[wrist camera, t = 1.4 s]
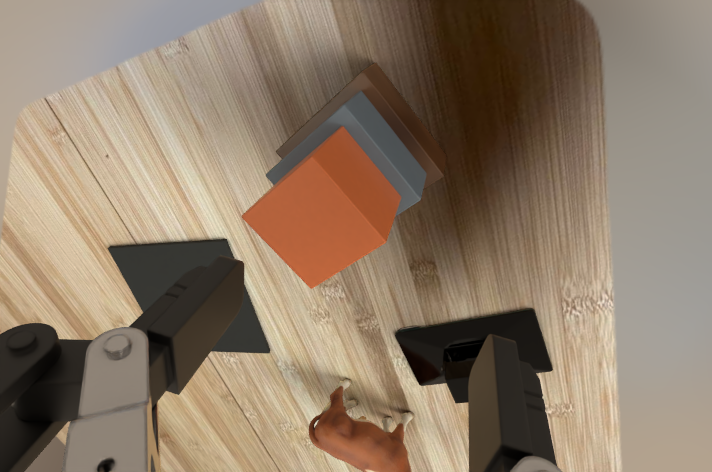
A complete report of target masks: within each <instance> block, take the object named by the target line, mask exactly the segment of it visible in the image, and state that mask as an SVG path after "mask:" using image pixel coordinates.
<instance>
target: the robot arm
mask: <svg viewBox="0 0 712 472" xmlns="http://www.w3.org/2000/svg"><path fill="white" fill-rule="evenodd" d="M243 298H244V263H243V262H242V261H240V260H236V259H233V258H229V257H226V256H222V255H220V256H218V257H217V258H216V259H215V260H214V261H213V262H212V263H211V264H210V265H209V266H208V267H203V266H198V267H196V268H194V269H192V270H190V271H188V272H186V273H184V274H183V275H182V276H181V277H180V278H179V279H178V280H177V281H176V282H175V283H174V285H173V286H171V287H170V288H169V289H168V290H167V291H166V292H165V294H163V295H162V296H161V297H160V298H158V299H157V300H156V301H155V302H154V303H153V304H152V305H151V306H150V307H149V308H148V309H147V310H146V311H145V312H144V313H143V314H142V315H141V316H140V317H139V318H138V319H137V320H136V321H135V322H134V323H133V324H131V325H130V326H129V327H121V328H116V329H112V330H109V331H107V332H104V333H103V334H101V335H99V336H98V337H96V338H95V339H94V340H67V339H59V338H58V335H57V333H56V330H55V329H54V328H53V327H51V326H49V325H47V324H42V323H30V324H24V325H20V326H17V327H14V328H12V329H9V330H7V331H5V332H4V333H2V334H0V472H24V471H25V470H26V469H27V468H28V467H29V466H30V465H31V463H32V462H33V461H34V460H35V459H36V458H37V456H38V455H39V454H40V453H41V452H42V451H43V450H44V448H45V447H46V446H47V445H48V444H49V443H50V442H51V440H52V439H53V438H54V437H55V436H56V435H57V433H58V432H59V431H60V430H61V429H62V428H63V427H64V425H65V424H66V423H67V422H68V421H71V422H70V424H69V428H68V433H67V440H66V447H65V453H64V461H63V467H62V472H161V461H160V436H159V410H158V400H159V399H160V398H161V396H162V395H163V394H164V392H165V391H169V392H172V393H175V394H178V395H179V394H180V393H181V391H182V390H183V388H184V387H185V386H186V384H187V383H188V382H189V380H190V379H191V378H192V376H193V375H194V373H195V372H196V371H197V369H198V368H199V367H200V365H201V364H202V362H203V361H204V360H205V358H206V357H207V356H208V354H209V353H210V352H211V350H212V349H213V347H214V346H215V345H216V343H217V342H218V341H219V339H220V338H221V336H222V335H223V334H224V332H225V331H226V330H227V328H228V327H229V325H230V324H231V323H232V321H233V320H234V319H235V317H236V316H237V314H238V313H239V311H240V308H241V306H242V303H243ZM542 396H543V394H542V389H541V384H540V379H539V378H538V376H537V374H536V373H535V371H534V370H533V368H532V366H531V365H530V363H527V362H523V361H520V360H519V356H518V349H517V344H516V342H515V341H513V340H510V339H506V338H503V337H499V336H496V335H492V334H489V335H488V336H487V338H486V340H485V342H484V344H483V346H482V348H481V350H480V352H479V354H478V357H477V359H476V361H475V363H474V365H473V367H472V370H471V373H470V377H469V385H468V397H469V472H562V471H561V470H560V469H559V468H558V467H557V464H556V460H555V454H554V449H553V444H552V439H551V434H550V429H549V424H548V419H547V414H546V412H545V404H544V399H542Z"/></svg>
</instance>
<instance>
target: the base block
mask: <svg viewBox="0 0 712 472" xmlns="http://www.w3.org/2000/svg"><path fill="white" fill-rule="evenodd" d="M359 91H362V92H363V93H364V94H365V96H366V97H367V98H368V99H369V101H370V102H371V103H372V105H373V106H374V107H375V108H376V110H377V111H378V112H379V113H380V115H381V116H382V117H383V119H384V120H385V121H386V122H387V124H388V125H389V126H390V127H391V129H392V130H393V131H394V133H395V134H396V135H397V136H398V138H399V139H400V140H401V141H402V143H403V144H404V145H405V147H406V148H407V149H408V150H409V152H410V153H411V154H412V155H413V157H414V158H415V159H416V161H417V162H418V163H419V164H420V166H421V167H422V168H423V169H424V171H425V172H426V173H427V175H426V179H425V183H424V188H423V190H424V189H425V188H427V187H428V186H430V185H431V184H433V183H434V182H436V181H437V180H439V179H440V178H442V177H443V176H444V172H445V164H446V157H447V155H446V154H445V153H444V151H443V150H442V149H441V147H440V146H439V145H438V143H437V142H436V141H435V139H434V138H433V137H432V136H431V134H430V133H429V132H428V130H427V129H426V128H425V126H424V125H423V124H422V122H421V121H420V120H419V118H418V117H417V116H416V114H415V113H414V112H413V111H412V109H411V108H410V107H409V105H408V104H407V103H406V101H405V100H404V99H403V97H402V96H401V95H400V93H399V92H398V91H397V89H396V88H395V87H394V86H393V84H392V83H391V82H390V80H389V79H388V78H387V76H386V75H385V74H384V72H383V71H382V70H381V68H380V67H379V66H378V64H377V63H374V64H372V65H371V66H369V67H368V68H366V69H364V70H363V71H362V72H360V73H359V74H358V75H357V76H356V77H355V78H354V79H353V80H352V81H351V82H350V83H349V84H348V85H346V86H345V87H344V88H343V89H342V90H341V91H340V92H339V93H338V94H337V95H336V96H335V97H334V98H332V99H331V100H330V101H329V102H328V103H327V104H326V105H325V106H324V107H323V108H322V109H321V110H320V111H319V112H317V113H316V114H315V115H314V116H313V117H312V118H311V119H310V120H309V121H308V122H307V123H306V124H305V125H303V126H302V127H301V128H300V129H299V130H298V131H297V132H296V133H295V134H294V135H293V136H292V137H291V138H289V139H288V140H287V141H286V142H285V143H284V144H283V145H282V146H281V147H280V148H279V149H278V150H277V151H276V153H277V154H278V155H279V156H280V157H281V158H282V159H283V158H285V157H286V156H287V155H288V154H289V153H290V152H291V151H292V150H293V149H294V148H296V147H297V146H298V145H299V144H300V143H301V142H302V141H303V140H304V139H306V138H307V137H308V136H309V135H310V134H311V133H312V132H313V131H314V130H316V129H317V128H318V127H319V126H320V125H321V124H322V123H323V122H324V121H326V120H327V119H328V118H329V117H330V116H331V115H332V114H333V113H334V112H335V111H337V110H338V109H339V108H340V107H341V106H342V105H343V104H344V103H346V102H347V101H348V100H349V99H351V98H352V97H353V96H354V95H356V94H357V93H358V92H359Z"/></svg>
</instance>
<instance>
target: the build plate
mask: <svg viewBox="0 0 712 472" xmlns="http://www.w3.org/2000/svg"><path fill="white" fill-rule="evenodd" d="M489 334H492V335H496V336H499V337H503V338H506V339H510V340H513V341H515V342H516V344H517V349H518V356H519V360H520V361H523V362H527V363H530V365H531V366H532V368H533V370H534V371H535V373H541V372H550V371H552V370H553V369H552V365H551V362H550V358H549V355H548V352H547V349H546V346H545V342H544V339H543V336H542V333H541V330H540V326H539V323H538V320H537V317H536V313H535V310H534V309H532V308H530V309H524V310H519V311H513V312H507V313H501V314H495V315H490V316H484V317H478V318H472V319H466V320H461V321H455V322H449V323H443V324H437V325H432V326H426V327H419V326H412V327H406V328H401V329H400V330H398V331H397V332H396V333H395V337H396V339H397V341H398V343H399V345H400V347H401V349H402V351H403V353H404V355H405V357H406V359H407V361H408V363H409V365H410V367H411V369H412V371H413V373H414V375H415V377H416V379H417V381H418V383H419V385H421V386H425V385H434V384H443V383H447V386H448V388H449V390H450V392H451V394H452V396H453V399H454V401H455V403H466V402H469V397H468V385H469V377H470V373H471V370H472V367H473V365H474V363H475V361H476V359H477V357H478V354H479V352H480V350H481V348H482V346H483V344H484V342H485V340H486V338H487V336H488V335H489Z"/></svg>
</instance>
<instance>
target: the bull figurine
mask: <svg viewBox="0 0 712 472" xmlns="http://www.w3.org/2000/svg"><path fill="white" fill-rule="evenodd" d="M351 383H352V381H351V380H349V379H345V380H344V381H343V382H342V381H340V382H339V384H338V386H337V388H336V390H335V391H334V392H333V393H332V394H331V395H330V400H331V401H330V402H329V403H328V404H327V406H326V407H325V408H324V410H323V412H322V413H321V414H320V415H318V416H316V417H315V418H314V419H313V420H312V421H311V423H310V425H309V436H310V439H311V441H312V443H313V444H314V445H315V446H316V447H318V448H320V449H322V450H324V451H326V452H327V453H329V454H330V455H332V456H333V457H335V458H337V459H339V460H342V461H345V462H347V463H349V464H351V465H353V466H354V467H356V468H357V469H359V470H361V471H363V472H412V470H411V466H410V458H409V454H408V451H407V449H406V446H405V444H404V443H403V438H404V433H405V431H406V425H407V424H408V422H409V421H410V420H411V419H413V418H414V417H415V415H414V414H413V413H412V412H408V413H403V414H402V421H401V422H400V423H399V424H398V425H397V427H396V429H395V430H394V431H393V432H392V433H391V432H389V426H390V424H391V423H392V422H393V421H394V420H393V418H392V417H388V418H386V417H385V418H384V419H382V423H383V427H384V429H383V430H382V429H381V428H380V427H379V426H377V425H376V424H374V423H373V422H371V421H368V420H366V417H364V416H362V417H360V418H359V419H352V418H351V417H350V416H348V414H347V413H346V411H347V410H348V409H349V408H352V407H354V406H357V405H358V402H357V401H356V400H355V399H352V400H350V401H349V400H348V399H346V400H345V401H344V403H343V399H342V396H343V392H344V390H345V389H346V388H347V387H349V386H350V385H351ZM317 420H319V421H318V423H317V425H316V426H315V428H314V424H315V422H316V421H317Z"/></svg>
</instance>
